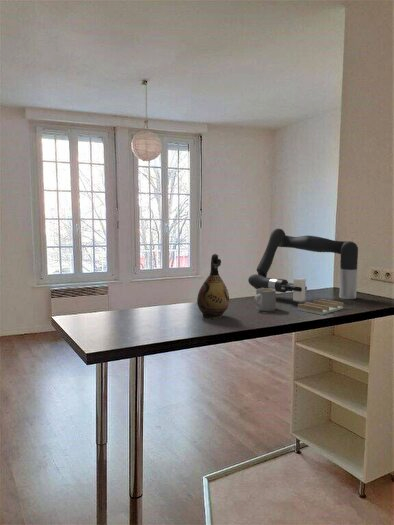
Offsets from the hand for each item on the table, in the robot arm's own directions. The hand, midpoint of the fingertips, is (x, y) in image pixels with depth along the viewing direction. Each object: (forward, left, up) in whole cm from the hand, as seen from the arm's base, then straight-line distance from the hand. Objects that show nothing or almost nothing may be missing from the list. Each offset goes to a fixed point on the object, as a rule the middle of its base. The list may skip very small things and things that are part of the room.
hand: (303, 289), depth 218 cm
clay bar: (0, -3, -7) cm, 7 cm away
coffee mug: (+24, -8, -9) cm, 27 cm away
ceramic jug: (+54, -14, -9) cm, 57 cm away
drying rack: (+2, +12, -9) cm, 15 cm away
